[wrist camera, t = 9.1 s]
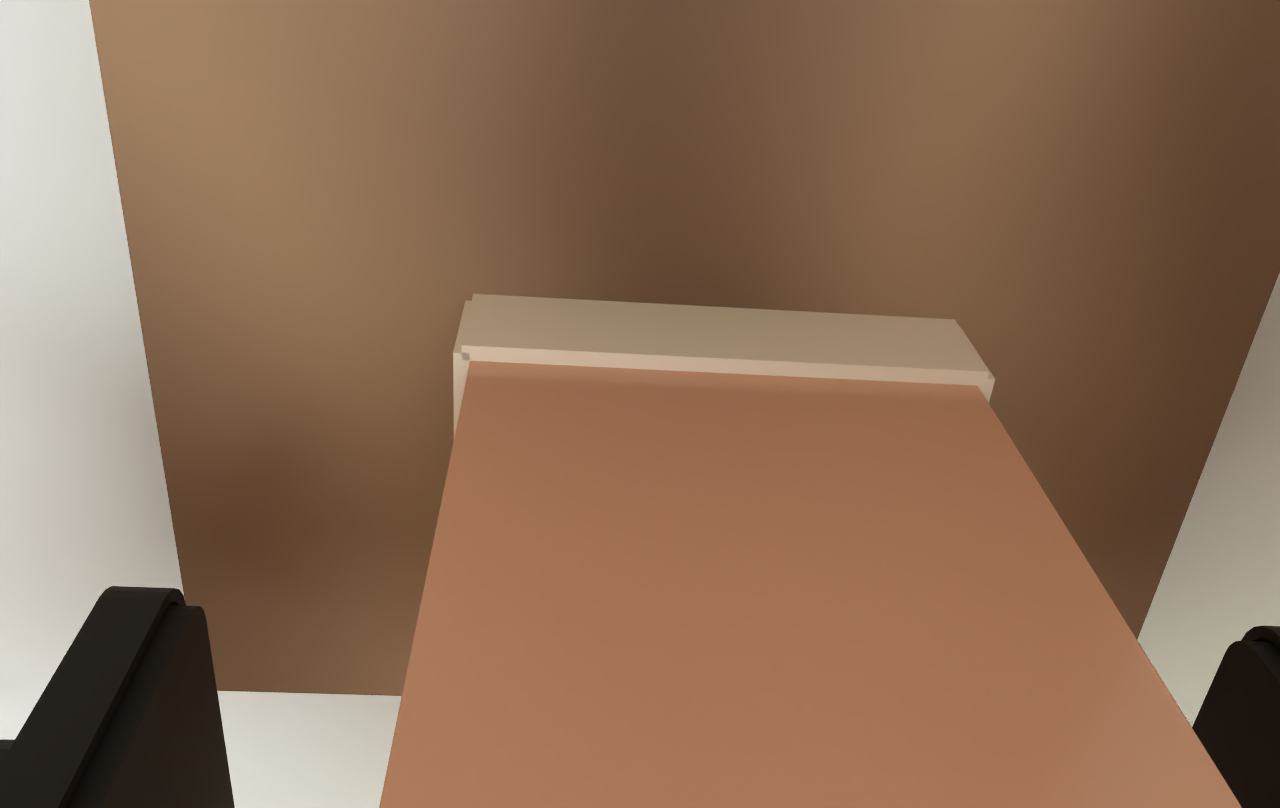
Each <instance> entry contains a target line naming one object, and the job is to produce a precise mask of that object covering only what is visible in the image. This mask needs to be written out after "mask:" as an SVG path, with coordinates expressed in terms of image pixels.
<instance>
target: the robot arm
mask: <svg viewBox="0 0 1280 808" xmlns="http://www.w3.org/2000/svg"><path fill="white" fill-rule="evenodd" d="M1192 729H1193V730H1194V732H1195V733H1196V735H1197V737H1198V738H1199V740H1200V741H1201V743H1202V745H1203V746H1204V748H1205V749H1206V751H1207V753H1208V754H1209V756H1210V757H1211V759H1212V761H1213V762H1214V764H1215V765H1216V767H1217V769H1218V770H1219V772H1220V773H1221V775H1222V777H1223V778H1224V780H1225V781H1226V783H1227V785H1228V786H1229V788H1230V789H1231V791H1232V793H1233V794H1234V796H1235V797H1236V799H1237V801H1238V802H1239V804H1240V805H1241V807H1242V808H1280V626H1258V627H1253V628H1252V629H1251V630H1249V631H1248V632H1246V634H1245V636H1244V637H1243V639H1242V640H1241V641H1236V642H1234V643H1233V644H1231V645H1230V646H1229V648H1228V649H1227V651H1226V652H1225V655H1224V657H1223V659H1222V661H1221V664H1220V666H1219V668H1218V670H1217V673H1216V675H1215V677H1214V679H1213V682H1212V684H1211V686H1210V688H1209V691H1208V693H1207V695H1206V698H1205V700H1204V702H1203V704H1202V707H1201V709H1200V711H1199V713H1198V716H1197V718H1196V720H1195V722H1194V725H1193V727H1192ZM0 808H234V801H233V794H232V788H231V781H230V774H229V768H228V761H227V754H226V747H225V741H224V734H223V727H222V721H221V714H220V707H219V701H218V694H217V687H216V680H215V674H214V667H213V660H212V654H211V647H210V640H209V634H208V627H207V620H206V616H205V612H204V610H203V608H202V607H200V606H186V604H185V600H184V596H183V594H182V593H181V591H180V590H178V589H175V588H147V587H118V586H111V587H109V588H108V589H106V590H105V591H104V592H103V593H102V595H101V596H100V597H99V599H98V601H97V602H96V604H95V606H94V607H93V609H92V611H91V612H90V614H89V616H88V617H87V619H86V621H85V623H84V624H83V626H82V628H81V629H80V631H79V633H78V634H77V636H76V638H75V639H74V641H73V643H72V645H71V646H70V648H69V650H68V651H67V653H66V655H65V656H64V658H63V660H62V661H61V663H60V665H59V667H58V668H57V670H56V672H55V673H54V675H53V677H52V678H51V680H50V682H49V683H48V685H47V687H46V688H45V690H44V692H43V694H42V695H41V697H40V699H39V700H38V702H37V704H36V705H35V707H34V709H33V710H32V712H31V714H30V716H29V717H28V719H27V721H26V722H25V724H24V726H23V727H22V729H21V731H20V732H19V734H18V736H17V738H16V739H15V740H0Z"/></svg>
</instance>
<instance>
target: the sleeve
mask: <svg viewBox="0 0 1280 808" xmlns="http://www.w3.org/2000/svg"><path fill="white" fill-rule="evenodd" d="M994 382H995V378H994V377H993V375H992V374H991V372H990V371H989V369H988V368H987V366H986V365H985V363H984V362H983V360H982V359H981V357H980V356H979V354H978V352H977V351H976V349H975V348H974V346H973V345H972V343H971V342H970V340H969V339H968V337H967V336H966V334H965V333H964V331H963V330H962V328H961V327H960V326H959V325H958V324H957V322H956V321H955V319H937V318H918V317H900V316H881V315H862V314H843V313H825V312H806V311H787V310H768V309H750V308H731V307H712V306H693V305H675V304H656V303H637V302H618V301H600V300H581V299H562V298H543V297H525V296H506V295H487V294H473V296H472V301H469V300H465V304H464V308H463V313H462V317H461V321H460V325H459V330H458V334H457V338H456V342H455V347H454V351H453V396H454V442H453V447H452V452H451V457H450V462H449V467H448V472H447V477H446V482H445V486H444V491H443V496H442V501H441V506H440V511H439V516H438V521H437V526H436V531H435V536H434V541H433V546H432V551H431V555H430V560H429V565H428V570H427V575H426V580H425V585H424V590H423V595H422V600H421V605H420V610H419V615H418V620H417V624H416V629H415V634H414V639H413V644H412V649H411V654H410V659H409V664H408V669H407V674H406V679H405V684H404V689H403V694H402V698H401V703H400V708H399V713H398V718H397V723H396V728H395V733H394V738H393V743H392V748H391V753H390V758H389V763H388V767H387V772H386V777H385V782H384V787H383V792H382V797H381V802H380V807H379V808H1242V807H1241V805H1240V804H1239V802H1238V801H1237V799H1236V797H1235V796H1234V794H1233V793H1232V791H1231V789H1230V788H1229V786H1228V785H1227V783H1226V781H1225V780H1224V778H1223V777H1222V775H1221V773H1220V772H1219V770H1218V769H1217V767H1216V765H1215V764H1214V762H1213V761H1212V759H1211V757H1210V756H1209V754H1208V753H1207V751H1206V749H1205V748H1204V746H1203V745H1202V743H1201V741H1200V740H1199V738H1198V737H1197V735H1196V733H1195V732H1194V730H1193V729H1192V727H1191V726H1190V724H1189V722H1188V721H1187V719H1186V718H1185V716H1184V714H1183V713H1182V711H1181V710H1180V708H1179V706H1178V705H1177V703H1176V702H1175V700H1174V698H1173V697H1172V695H1171V694H1170V692H1169V690H1168V689H1167V687H1166V686H1165V684H1164V682H1163V681H1162V679H1161V678H1160V676H1159V674H1158V673H1157V671H1156V670H1155V668H1154V666H1153V665H1152V663H1151V662H1150V660H1149V658H1148V657H1147V655H1146V654H1145V652H1144V650H1143V649H1142V647H1141V646H1140V644H1139V642H1138V641H1137V639H1136V638H1135V636H1134V634H1133V633H1132V631H1131V630H1130V628H1129V626H1128V625H1127V623H1126V622H1125V620H1124V619H1123V617H1122V615H1121V614H1120V612H1119V611H1118V609H1117V607H1116V606H1115V604H1114V603H1113V601H1112V599H1111V598H1110V596H1109V595H1108V593H1107V591H1106V590H1105V588H1104V587H1103V585H1102V583H1101V582H1100V580H1099V579H1098V577H1097V575H1096V574H1095V572H1094V571H1093V569H1092V567H1091V566H1090V564H1089V563H1088V561H1087V559H1086V558H1085V556H1084V555H1083V553H1082V551H1081V550H1080V548H1079V547H1078V545H1077V543H1076V542H1075V540H1074V539H1073V537H1072V535H1071V534H1070V532H1069V531H1068V529H1067V527H1066V526H1065V524H1064V523H1063V521H1062V519H1061V518H1060V516H1059V515H1058V513H1057V512H1056V510H1055V508H1054V507H1053V505H1052V504H1051V502H1050V500H1049V499H1048V497H1047V496H1046V494H1045V492H1044V491H1043V489H1042V488H1041V486H1040V484H1039V483H1038V481H1037V480H1036V478H1035V476H1034V475H1033V473H1032V472H1031V470H1030V468H1029V467H1028V465H1027V464H1026V462H1025V460H1024V459H1023V457H1022V456H1021V454H1020V452H1019V451H1018V449H1017V448H1016V446H1015V444H1014V443H1013V441H1012V440H1011V438H1010V436H1009V435H1008V433H1007V432H1006V430H1005V428H1004V427H1003V425H1002V424H1001V422H1000V420H999V419H998V417H997V416H996V414H995V412H994V411H993V409H992V408H991V406H990V405H989V401H990V397H991V393H992V390H993V386H994Z"/></svg>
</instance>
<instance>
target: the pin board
mask: <svg viewBox="0 0 1280 808" xmlns="http://www.w3.org/2000/svg"><path fill="white" fill-rule="evenodd" d="M89 2H90V8H91V15H92V21H93V27H94V33H95V40H96V46H97V52H98V58H99V65H100V71H101V77H102V84H103V90H104V96H105V102H106V109H107V115H108V121H109V127H110V134H111V140H112V146H113V152H114V159H115V165H116V171H117V177H118V184H119V190H120V196H121V202H122V209H123V215H124V221H125V228H126V234H127V240H128V246H129V253H130V259H131V265H132V271H133V278H134V284H135V290H136V296H137V303H138V309H139V315H140V321H141V328H142V334H143V340H144V346H145V353H146V359H147V365H148V371H149V378H150V384H151V390H152V397H153V403H154V409H155V415H156V422H157V428H158V434H159V440H160V447H161V453H162V459H163V465H164V472H165V478H166V484H167V490H168V497H169V503H170V509H171V515H172V522H173V528H174V534H175V541H176V547H177V553H178V559H179V566H180V572H181V578H182V584H183V591H184V597H185V603H186V606H200V607H202V608H203V610H204V612H205V616H206V620H207V627H208V634H209V640H210V647H211V654H212V660H213V667H214V674H215V680H216V687H217V691H250V692H286V693H321V694H357V695H392V696H402V694H403V689H404V684H405V679H406V674H407V669H408V664H409V659H410V654H411V649H412V644H413V639H414V634H415V629H416V624H417V620H418V615H419V610H420V605H421V600H422V595H423V590H424V585H425V580H426V575H427V570H428V565H429V560H430V555H431V551H432V546H433V541H434V536H435V531H436V526H437V521H438V516H439V511H440V506H441V501H442V496H443V491H444V486H445V482H446V477H447V472H448V467H449V462H450V457H451V452H452V447H453V442H454V396H453V351H454V347H455V342H456V338H457V334H458V330H459V325H460V321H461V317H462V313H463V308H464V304H465V300H469V301H472V296H473V294H487V295H506V296H525V297H543V298H562V299H581V300H600V301H618V302H637V303H656V304H675V305H693V306H712V307H731V308H750V309H768V310H787V311H806V312H825V313H843V314H862V315H881V316H900V317H918V318H937V319H955V321H956V322H957V324H958V325H959V326H960V327H961V328H962V330H963V331H964V333H965V334H966V336H967V337H968V339H969V340H970V342H971V343H972V345H973V346H974V348H975V349H976V351H977V352H978V354H979V356H980V357H981V359H982V360H983V362H984V363H985V365H986V366H987V368H988V369H989V371H990V372H991V374H992V375H993V377H994V378H995V382H994V386H993V390H992V393H991V397H990V401H989V405H990V406H991V408H992V409H993V411H994V412H995V414H996V416H997V417H998V419H999V420H1000V422H1001V424H1002V425H1003V427H1004V428H1005V430H1006V432H1007V433H1008V435H1009V436H1010V438H1011V440H1012V441H1013V443H1014V444H1015V446H1016V448H1017V449H1018V451H1019V452H1020V454H1021V456H1022V457H1023V459H1024V460H1025V462H1026V464H1027V465H1028V467H1029V468H1030V470H1031V472H1032V473H1033V475H1034V476H1035V478H1036V480H1037V481H1038V483H1039V484H1040V486H1041V488H1042V489H1043V491H1044V492H1045V494H1046V496H1047V497H1048V499H1049V500H1050V502H1051V504H1052V505H1053V507H1054V508H1055V510H1056V512H1057V513H1058V515H1059V516H1060V518H1061V519H1062V521H1063V523H1064V524H1065V526H1066V527H1067V529H1068V531H1069V532H1070V534H1071V535H1072V537H1073V539H1074V540H1075V542H1076V543H1077V545H1078V547H1079V548H1080V550H1081V551H1082V553H1083V555H1084V556H1085V558H1086V559H1087V561H1088V563H1089V564H1090V566H1091V567H1092V569H1093V571H1094V572H1095V574H1096V575H1097V577H1098V579H1099V580H1100V582H1101V583H1102V585H1103V587H1104V588H1105V590H1106V591H1107V593H1108V595H1109V596H1110V598H1111V599H1112V601H1113V603H1114V604H1115V606H1116V607H1117V609H1118V611H1119V612H1120V614H1121V615H1122V617H1123V619H1124V620H1125V622H1126V623H1127V625H1128V626H1129V628H1130V630H1131V631H1132V633H1133V634H1134V636H1135V638H1136V639H1137V638H1138V636H1139V633H1140V631H1141V628H1142V626H1143V623H1144V620H1145V618H1146V615H1147V613H1148V610H1149V608H1150V605H1151V602H1152V600H1153V597H1154V595H1155V592H1156V589H1157V587H1158V584H1159V582H1160V579H1161V577H1162V574H1163V571H1164V569H1165V566H1166V564H1167V561H1168V558H1169V556H1170V553H1171V551H1172V548H1173V546H1174V543H1175V540H1176V538H1177V535H1178V533H1179V530H1180V527H1181V525H1182V522H1183V520H1184V517H1185V515H1186V512H1187V509H1188V507H1189V504H1190V502H1191V499H1192V497H1193V494H1194V491H1195V489H1196V486H1197V484H1198V481H1199V478H1200V476H1201V473H1202V471H1203V468H1204V466H1205V463H1206V460H1207V458H1208V455H1209V453H1210V450H1211V447H1212V445H1213V442H1214V440H1215V437H1216V435H1217V432H1218V429H1219V427H1220V424H1221V422H1222V419H1223V416H1224V414H1225V411H1226V409H1227V406H1228V404H1229V401H1230V398H1231V396H1232V393H1233V391H1234V388H1235V385H1236V383H1237V380H1238V378H1239V375H1240V373H1241V370H1242V367H1243V365H1244V362H1245V360H1246V357H1247V355H1248V352H1249V349H1250V347H1251V344H1252V342H1253V339H1254V336H1255V334H1256V331H1257V329H1258V326H1259V324H1260V321H1261V318H1262V316H1263V313H1264V311H1265V308H1266V305H1267V303H1268V300H1269V298H1270V295H1271V293H1272V290H1273V287H1274V285H1275V282H1276V280H1277V277H1278V274H1279V272H1280V0H89Z"/></svg>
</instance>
